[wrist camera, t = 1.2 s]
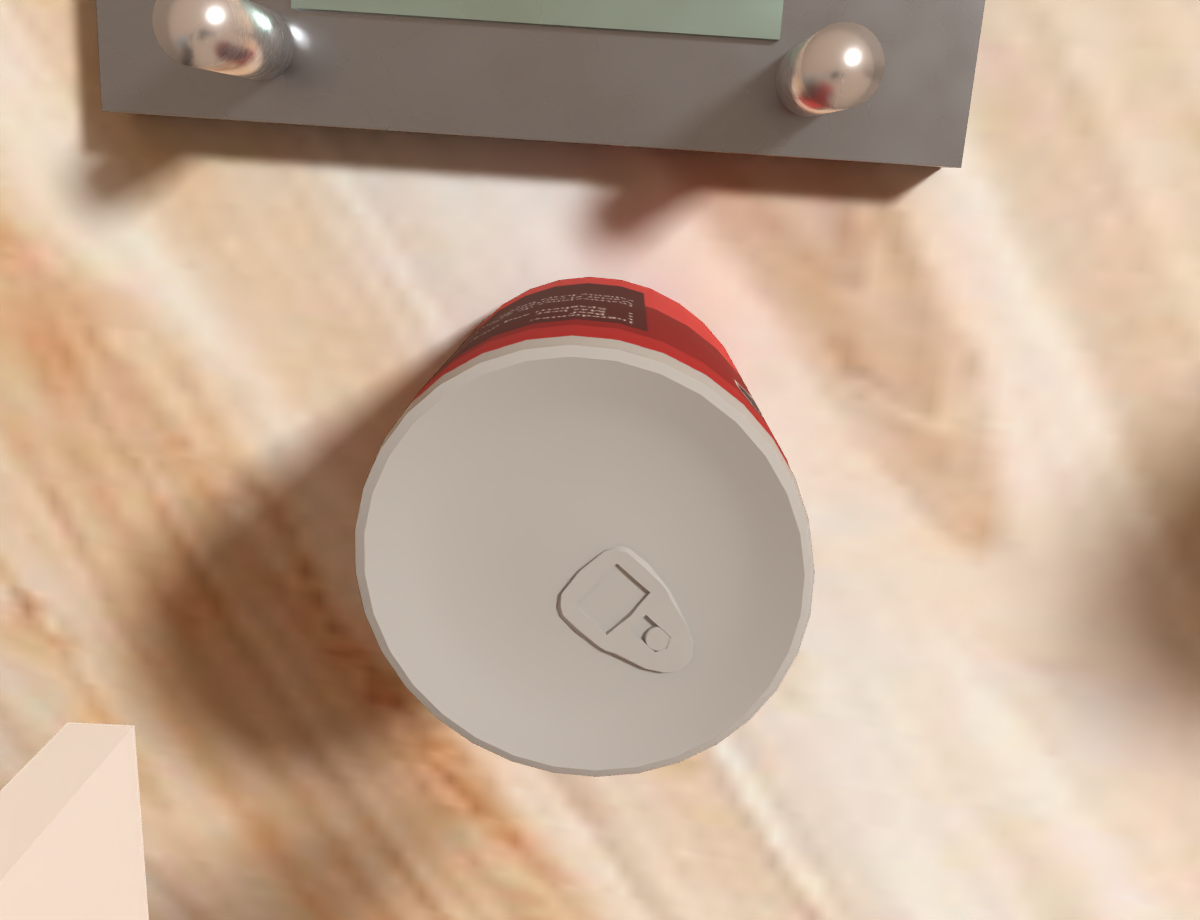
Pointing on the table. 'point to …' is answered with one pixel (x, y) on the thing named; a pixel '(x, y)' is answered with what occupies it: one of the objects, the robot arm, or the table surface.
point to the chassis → (566, 70)
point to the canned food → (586, 536)
